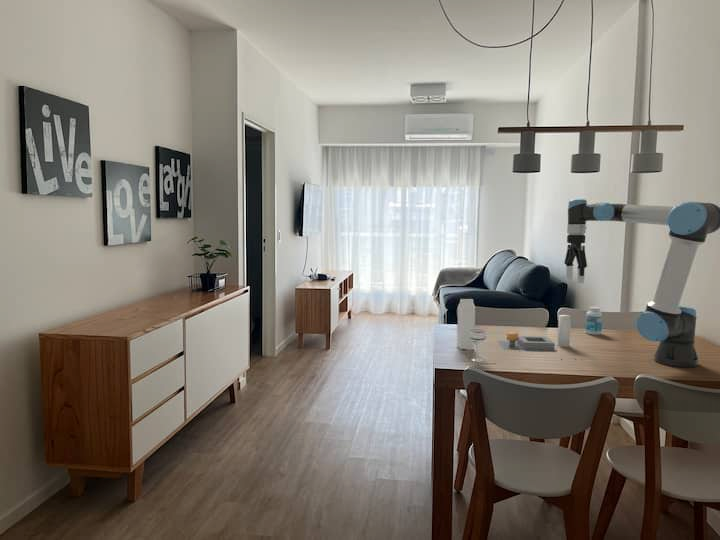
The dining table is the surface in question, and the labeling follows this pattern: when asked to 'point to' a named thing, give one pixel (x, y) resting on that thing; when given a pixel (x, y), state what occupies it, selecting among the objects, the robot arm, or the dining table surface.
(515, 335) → the orange rounded knob
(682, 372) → the dining table surface
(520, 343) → the housing
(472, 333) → the wineglass
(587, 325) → the pill bottle
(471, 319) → the milk
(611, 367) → the dining table surface
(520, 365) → the dining table surface
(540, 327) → the dining table surface
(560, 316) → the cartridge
